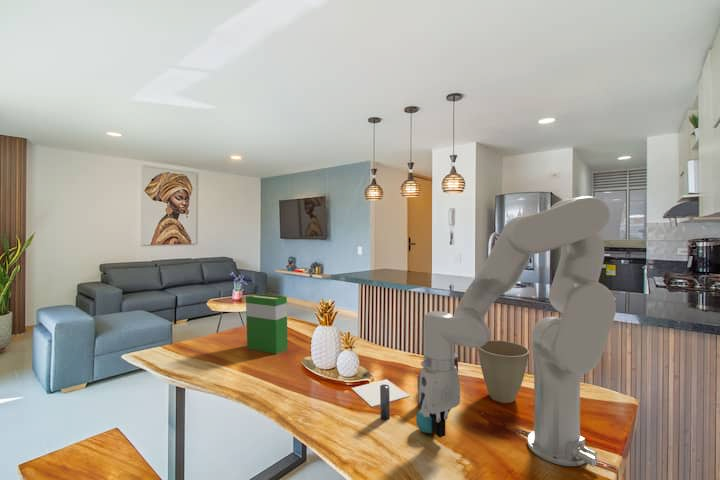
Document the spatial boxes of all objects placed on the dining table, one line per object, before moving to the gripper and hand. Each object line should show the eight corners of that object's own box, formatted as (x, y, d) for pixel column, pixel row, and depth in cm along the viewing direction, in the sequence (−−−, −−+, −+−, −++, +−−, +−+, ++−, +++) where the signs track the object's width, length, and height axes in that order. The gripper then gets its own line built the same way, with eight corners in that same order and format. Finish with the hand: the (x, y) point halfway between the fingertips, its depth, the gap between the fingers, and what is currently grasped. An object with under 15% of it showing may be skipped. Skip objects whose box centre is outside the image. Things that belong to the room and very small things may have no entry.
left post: (391, 418, 98) (391, 387, 98) (383, 421, 97) (383, 389, 96) (386, 414, 100) (386, 383, 100) (378, 416, 99) (378, 385, 99)
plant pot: (503, 414, 99) (503, 359, 99) (467, 392, 113) (467, 343, 112) (540, 403, 105) (540, 351, 105) (502, 383, 119) (502, 337, 118)
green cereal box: (247, 348, 159) (245, 296, 158) (258, 343, 166) (257, 293, 165) (276, 354, 151) (275, 299, 150) (287, 348, 157) (286, 296, 157)
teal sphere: (445, 413, 90) (429, 400, 95) (427, 421, 87) (412, 406, 92) (443, 433, 91) (427, 419, 96) (425, 441, 88) (410, 426, 93)
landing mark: (409, 396, 111) (409, 395, 111) (371, 407, 104) (371, 406, 104) (386, 379, 123) (386, 379, 123) (351, 388, 117) (351, 388, 117)
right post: (428, 407, 104) (428, 377, 104) (421, 409, 103) (421, 379, 102) (422, 403, 106) (422, 374, 106) (416, 405, 105) (415, 376, 105)
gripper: (425, 373, 79) (425, 451, 80) (471, 361, 87) (471, 433, 87) (405, 362, 86) (405, 435, 87) (450, 352, 93) (449, 418, 94)
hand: (438, 433), depth 87 cm, fingers closed
